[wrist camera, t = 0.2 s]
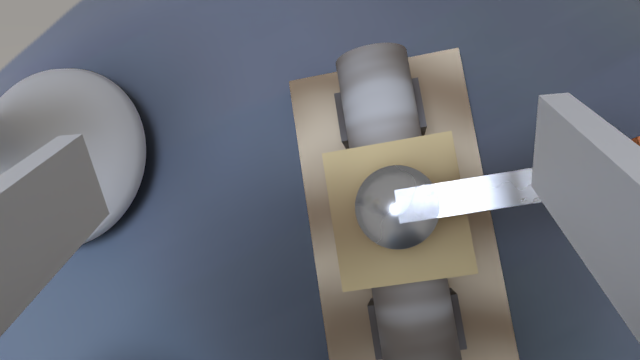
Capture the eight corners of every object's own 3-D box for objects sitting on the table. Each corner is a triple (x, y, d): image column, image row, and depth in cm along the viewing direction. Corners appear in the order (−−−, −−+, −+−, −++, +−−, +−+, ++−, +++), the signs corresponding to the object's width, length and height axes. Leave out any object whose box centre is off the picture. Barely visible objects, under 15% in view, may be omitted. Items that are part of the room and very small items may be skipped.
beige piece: (516, 367, 27) (586, 444, 17) (336, 386, 28) (303, 469, 18) (456, 55, 29) (486, -39, 19) (293, 87, 31) (242, 15, 21)
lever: (364, 253, 19) (360, 255, 17) (351, 176, 19) (347, 170, 17) (754, 196, 17) (795, 192, 15) (731, 112, 17) (769, 98, 16)
